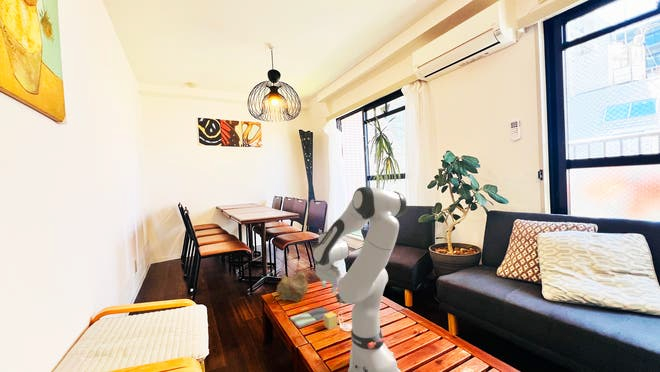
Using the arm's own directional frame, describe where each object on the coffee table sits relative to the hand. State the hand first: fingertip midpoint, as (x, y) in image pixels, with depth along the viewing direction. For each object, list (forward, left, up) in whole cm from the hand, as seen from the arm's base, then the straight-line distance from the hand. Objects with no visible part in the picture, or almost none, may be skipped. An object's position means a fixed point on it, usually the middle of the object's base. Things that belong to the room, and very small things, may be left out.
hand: (328, 289), depth 139 cm
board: (+14, +3, -19) cm, 24 cm away
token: (0, 0, -19) cm, 19 cm away
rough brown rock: (+42, 0, -19) cm, 46 cm away
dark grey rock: (+23, -29, -20) cm, 41 cm away
